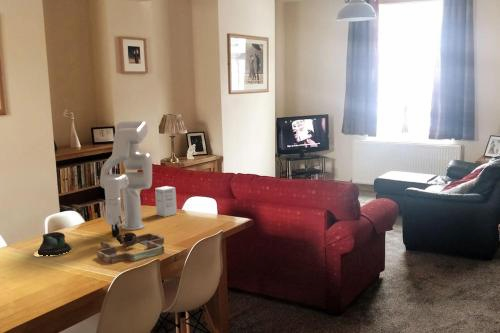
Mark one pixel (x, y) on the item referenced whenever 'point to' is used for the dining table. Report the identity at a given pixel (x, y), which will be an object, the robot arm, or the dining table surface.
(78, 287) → the dining table surface
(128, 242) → the pottery mug
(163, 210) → the supplement box
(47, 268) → the dining table surface
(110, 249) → the trap lane
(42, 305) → the dining table surface
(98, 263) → the dining table surface
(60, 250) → the dark green fedora
